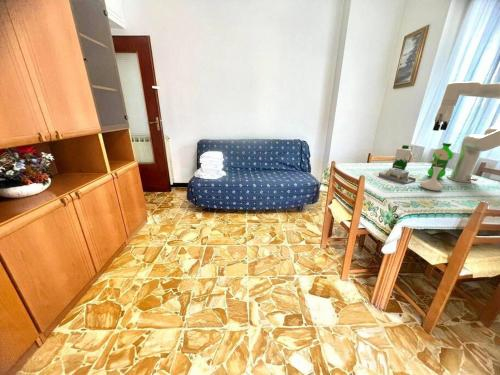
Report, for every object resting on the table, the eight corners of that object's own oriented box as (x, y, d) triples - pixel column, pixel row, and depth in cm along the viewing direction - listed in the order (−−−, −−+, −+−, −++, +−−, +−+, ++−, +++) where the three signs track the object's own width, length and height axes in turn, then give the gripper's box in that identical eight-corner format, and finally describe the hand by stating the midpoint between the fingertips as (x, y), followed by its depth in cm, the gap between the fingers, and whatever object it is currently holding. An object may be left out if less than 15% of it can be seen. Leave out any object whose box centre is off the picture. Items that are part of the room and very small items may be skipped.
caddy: (415, 181, 142) (417, 175, 141) (404, 184, 137) (405, 178, 136) (389, 173, 157) (390, 168, 156) (378, 176, 152) (379, 171, 151)
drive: (406, 179, 144) (409, 171, 142) (401, 180, 141) (404, 172, 139) (392, 174, 152) (394, 167, 150) (387, 175, 150) (389, 168, 148)
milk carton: (405, 171, 165) (413, 146, 157) (402, 173, 159) (410, 147, 152) (393, 168, 171) (400, 144, 163) (389, 170, 165) (396, 145, 158)
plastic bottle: (444, 180, 145) (458, 145, 135) (425, 177, 151) (437, 143, 141) (443, 176, 152) (456, 143, 143) (425, 174, 158) (436, 141, 148)
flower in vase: (446, 193, 124) (463, 152, 115) (425, 191, 126) (439, 151, 117) (433, 185, 136) (447, 147, 127) (413, 183, 138) (426, 146, 129)
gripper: (448, 103, 141) (439, 129, 147) (434, 103, 134) (426, 130, 140) (462, 103, 135) (452, 130, 141) (449, 103, 128) (439, 131, 134)
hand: (439, 130), depth 141 cm, fingers open, 9 cm apart
